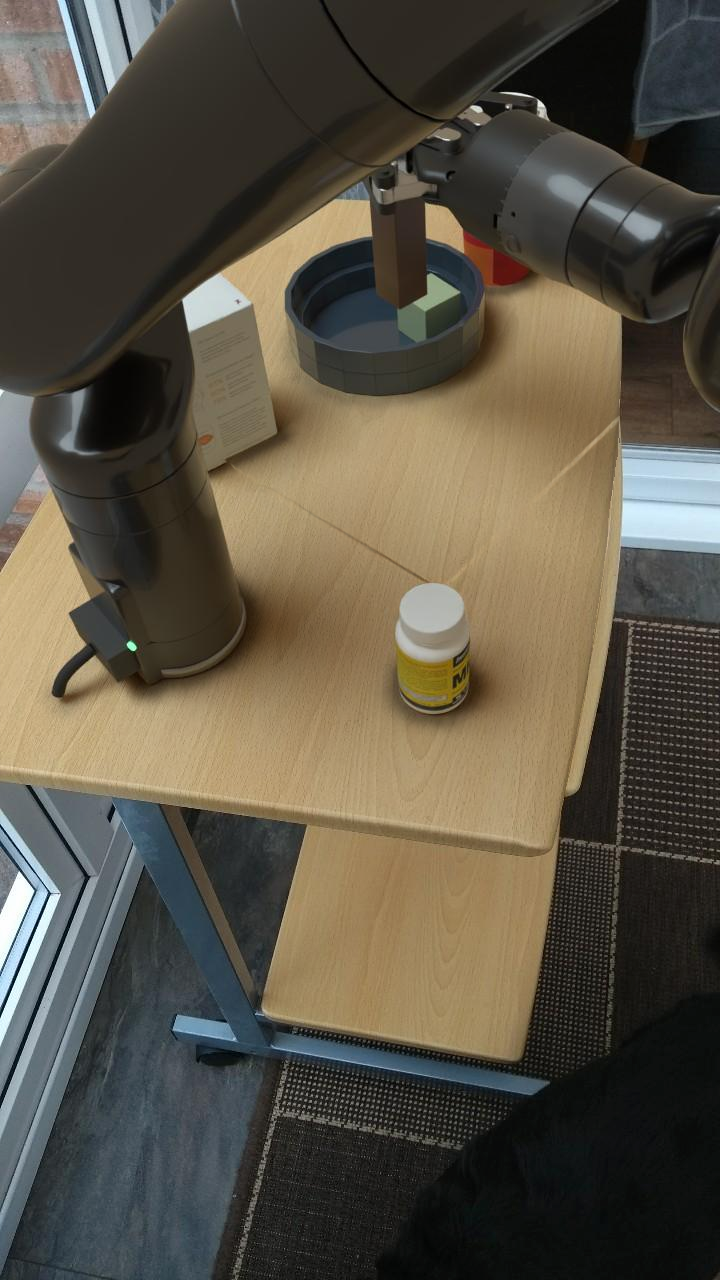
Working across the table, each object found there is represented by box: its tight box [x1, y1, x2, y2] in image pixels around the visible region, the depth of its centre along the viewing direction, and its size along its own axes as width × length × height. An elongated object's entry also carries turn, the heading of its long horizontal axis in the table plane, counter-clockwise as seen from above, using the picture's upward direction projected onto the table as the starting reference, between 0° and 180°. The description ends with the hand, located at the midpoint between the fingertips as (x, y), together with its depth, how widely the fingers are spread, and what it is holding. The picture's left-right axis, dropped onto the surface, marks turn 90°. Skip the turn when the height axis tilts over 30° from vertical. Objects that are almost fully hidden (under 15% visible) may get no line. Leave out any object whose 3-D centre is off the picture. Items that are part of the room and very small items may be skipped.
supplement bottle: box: [394, 582, 471, 715], centre depth 65 cm, size 5×5×8 cm
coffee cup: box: [462, 91, 551, 287], centre depth 91 cm, size 8×8×15 cm
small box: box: [183, 272, 278, 472], centre depth 80 cm, size 8×6×13 cm
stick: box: [368, 195, 428, 310], centre depth 71 cm, size 3×3×15 cm
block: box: [397, 273, 461, 342], centre depth 90 cm, size 4×4×4 cm
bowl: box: [284, 235, 486, 397], centre depth 90 cm, size 17×17×5 cm
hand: (365, 107), depth 68 cm, fingers closed on stick, 3 cm apart
